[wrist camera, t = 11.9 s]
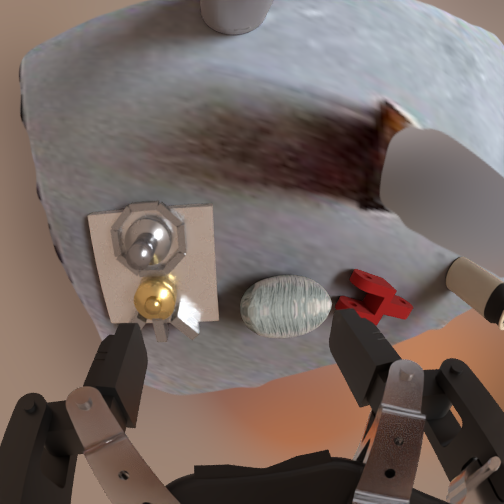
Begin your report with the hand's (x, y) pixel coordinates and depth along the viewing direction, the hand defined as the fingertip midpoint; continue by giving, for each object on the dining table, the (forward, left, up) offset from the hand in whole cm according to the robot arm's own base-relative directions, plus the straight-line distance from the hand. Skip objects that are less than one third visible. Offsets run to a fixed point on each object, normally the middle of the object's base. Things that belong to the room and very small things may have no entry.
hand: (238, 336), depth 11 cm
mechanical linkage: (+18, +27, -30) cm, 45 cm away
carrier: (+10, -10, -30) cm, 33 cm away
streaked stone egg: (+16, +9, -30) cm, 36 cm away
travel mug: (+16, +50, -30) cm, 61 cm away
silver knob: (+5, -10, -28) cm, 30 cm away
